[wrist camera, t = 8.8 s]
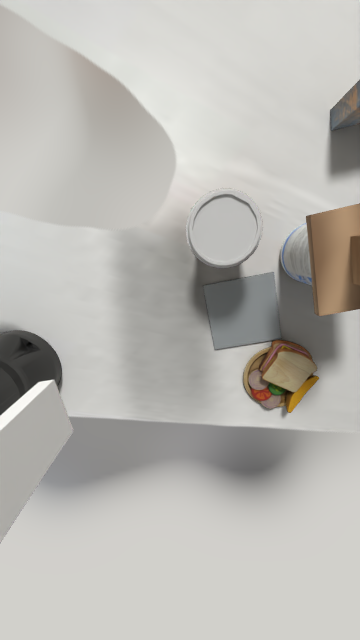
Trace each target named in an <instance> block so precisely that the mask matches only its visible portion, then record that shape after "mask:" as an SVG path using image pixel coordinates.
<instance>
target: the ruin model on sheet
mask: <svg viewBox="0 0 360 640" xmlns="http://www.w3.org/2000/svg"><path fill="white" fill-rule="evenodd" d="M330 116H331V131H332V130H336V129H340V128H344V127H348V126H352V125H356V124H360V80H359V81H358V82H357V83H356V84H355V85H354V86H353V87H352V88H351V89H350V90H349V91H348V92H347V93H346V94H345V95H344V97H343V98H342V99H341V100H340V101H339V102H338V103H337V104H336V105H335V106H334V107H333V108H332V109H331V110H330Z"/></svg>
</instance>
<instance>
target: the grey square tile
mask: <svg viewBox="0 0 360 640" xmlns="http://www.w3.org/2000/svg"><path fill="white" fill-rule="evenodd" d="M203 288H204V294H205V299H206V305H207V310H208V315H209V321H210V326H211V332H212V337H213V342H214V348H215V349H221V348H228V347H234V346H240V345H246V344H252V343H258V342H264V341H271V340H277V339H281V331H280V322H279V313H278V304H277V295H276V286H275V277H274V272H271V273H266V274H261V275H255V276H250V277H245V278H240V279H235V280H230V281H225V282H220V283H214V284H209V285H204V286H203Z"/></svg>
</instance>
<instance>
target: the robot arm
mask: <svg viewBox="0 0 360 640" xmlns="http://www.w3.org/2000/svg"><path fill="white" fill-rule="evenodd" d="M60 378H61V365H60V361H59V358H58V356H57V354H56V352H55V351H54V350H53V348H52V347H51V346H50V345H49V344H48V343H47V342H46V341H45V340H44V339H42V338H41V337H39V336H37V335H35V334H33V333H30V332H26V331H20V330H15V331H9V332H6V333H3V334H1V335H0V543H1V541H2V540H3V538H4V537H5V535H6V534H7V532H8V530H9V529H10V527H11V526H12V524H13V523H14V521H15V520H16V518H17V516H18V515H19V514H20V512H21V510H22V509H23V507H24V506H25V504H26V503H27V501H28V500H29V498H30V497H31V495H32V494H33V492H34V491H35V489H36V488H37V486H38V484H39V483H40V481H41V480H42V478H43V477H44V475H45V474H46V472H47V470H48V469H49V467H50V466H51V465H52V463H53V461H54V460H55V458H56V457H57V455H58V454H59V452H60V451H61V449H62V448H63V446H64V445H65V443H66V441H67V440H68V438H69V437H70V435H71V434H72V432H73V428H72V425H71V423H70V420H69V417H68V415H67V412H66V409H65V407H64V404H63V401H62V399H61V396H60V393H59V391H58V388H57V386H58V384H59V382H60Z"/></svg>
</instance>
